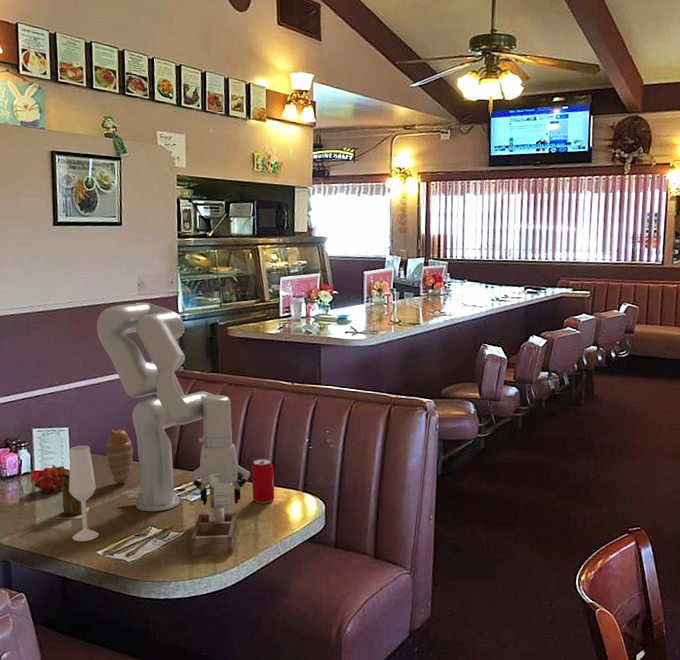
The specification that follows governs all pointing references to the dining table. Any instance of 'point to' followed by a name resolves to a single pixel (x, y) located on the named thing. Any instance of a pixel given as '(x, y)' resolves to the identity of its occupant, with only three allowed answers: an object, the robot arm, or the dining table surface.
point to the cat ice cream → (119, 455)
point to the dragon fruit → (50, 479)
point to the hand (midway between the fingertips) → (220, 502)
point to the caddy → (214, 533)
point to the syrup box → (220, 493)
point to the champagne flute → (82, 485)
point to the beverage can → (263, 481)
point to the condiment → (69, 501)
